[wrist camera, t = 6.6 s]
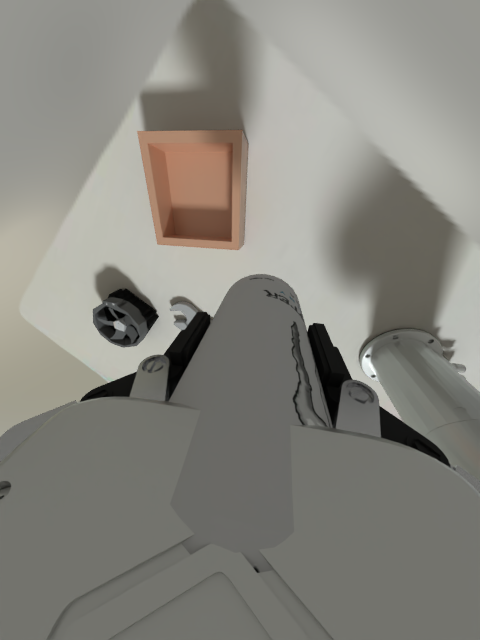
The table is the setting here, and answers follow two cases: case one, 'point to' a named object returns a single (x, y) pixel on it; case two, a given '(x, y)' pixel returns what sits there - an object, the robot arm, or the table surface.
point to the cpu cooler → (124, 318)
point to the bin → (197, 186)
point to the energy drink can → (247, 420)
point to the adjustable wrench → (187, 311)
